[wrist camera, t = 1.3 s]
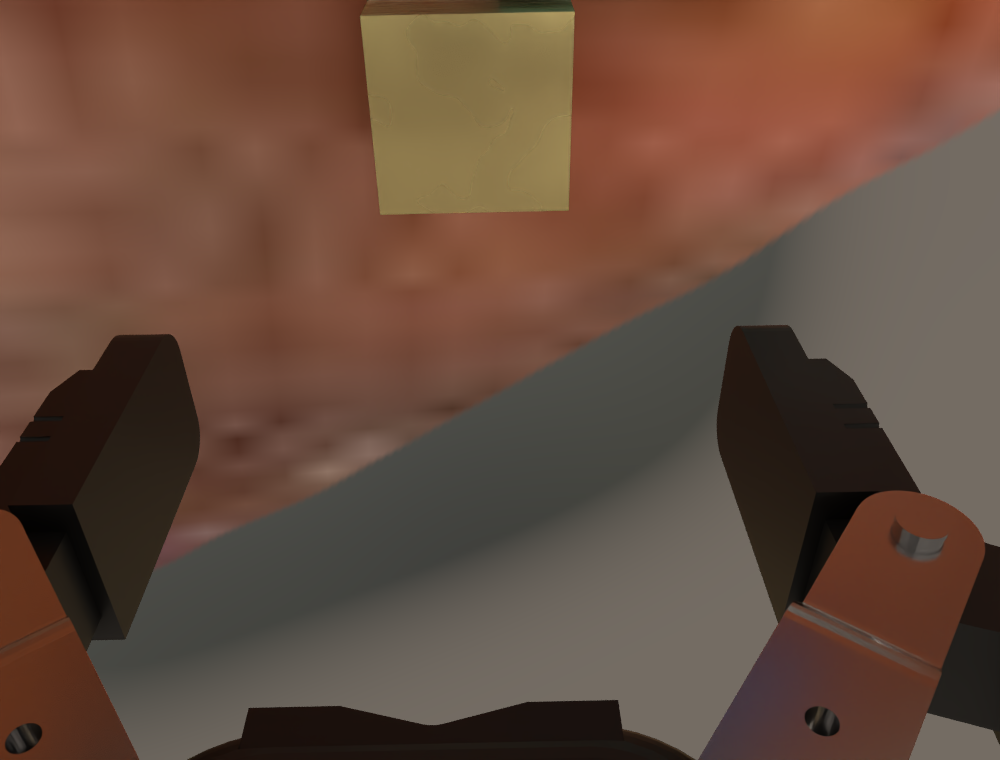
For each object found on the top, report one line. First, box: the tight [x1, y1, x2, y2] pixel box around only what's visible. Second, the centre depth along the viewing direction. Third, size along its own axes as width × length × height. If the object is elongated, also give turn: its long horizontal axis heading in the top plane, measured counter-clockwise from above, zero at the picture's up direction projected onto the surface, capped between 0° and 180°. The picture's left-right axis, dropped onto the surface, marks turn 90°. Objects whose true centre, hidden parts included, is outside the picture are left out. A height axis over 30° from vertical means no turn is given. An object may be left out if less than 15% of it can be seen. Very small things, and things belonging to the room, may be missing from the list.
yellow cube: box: [360, 0, 575, 215], centre depth 24 cm, size 5×5×5 cm
